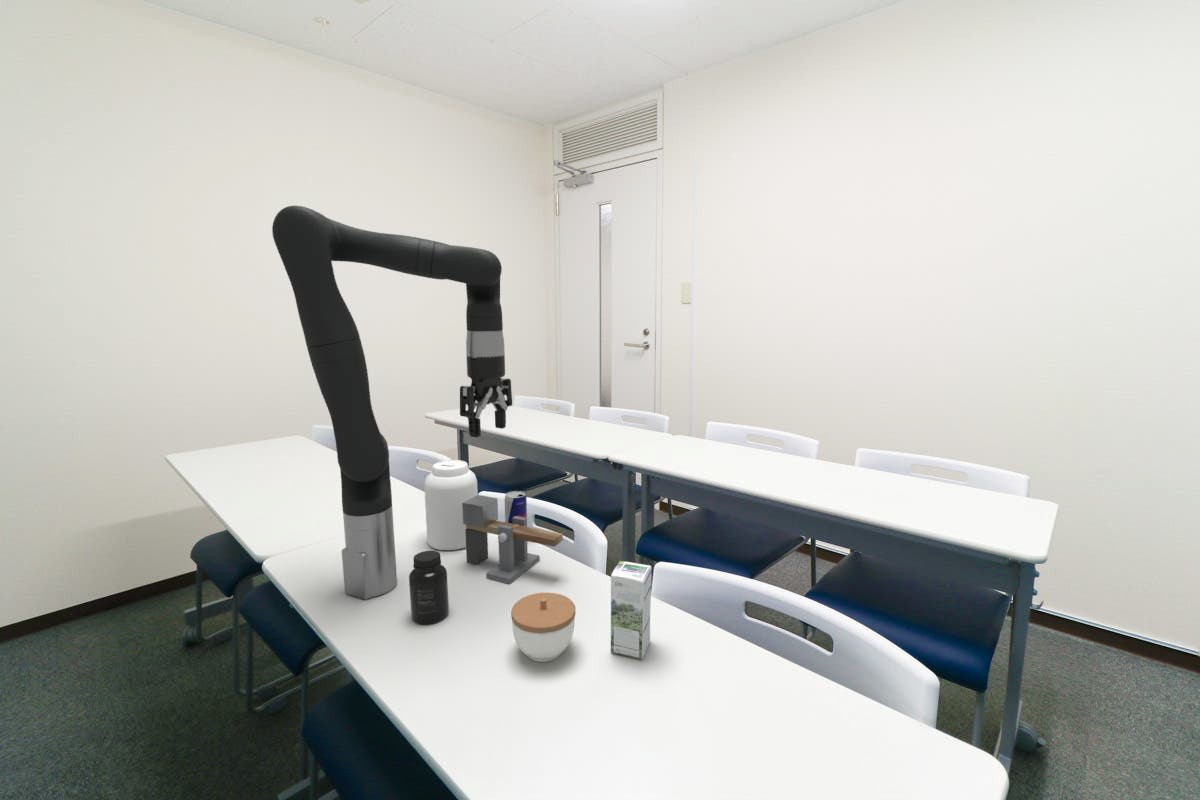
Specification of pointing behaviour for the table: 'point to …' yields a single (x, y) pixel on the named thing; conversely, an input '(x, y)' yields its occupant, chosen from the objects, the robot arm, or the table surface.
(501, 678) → the table surface
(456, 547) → the white protein powder tub
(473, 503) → the block
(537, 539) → the beam
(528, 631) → the lidded jar
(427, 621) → the supplement bottle
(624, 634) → the syrup box
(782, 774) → the table surface
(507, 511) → the energy drink
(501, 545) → the stand
